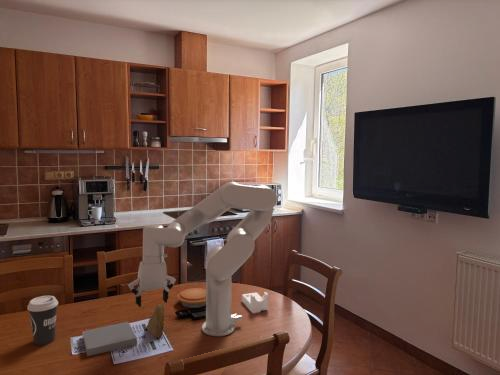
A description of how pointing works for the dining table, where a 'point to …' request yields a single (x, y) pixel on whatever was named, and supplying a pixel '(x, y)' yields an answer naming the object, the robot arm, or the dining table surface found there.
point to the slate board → (108, 338)
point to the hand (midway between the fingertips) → (152, 303)
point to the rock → (157, 321)
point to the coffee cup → (43, 319)
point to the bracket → (255, 301)
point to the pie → (193, 297)
